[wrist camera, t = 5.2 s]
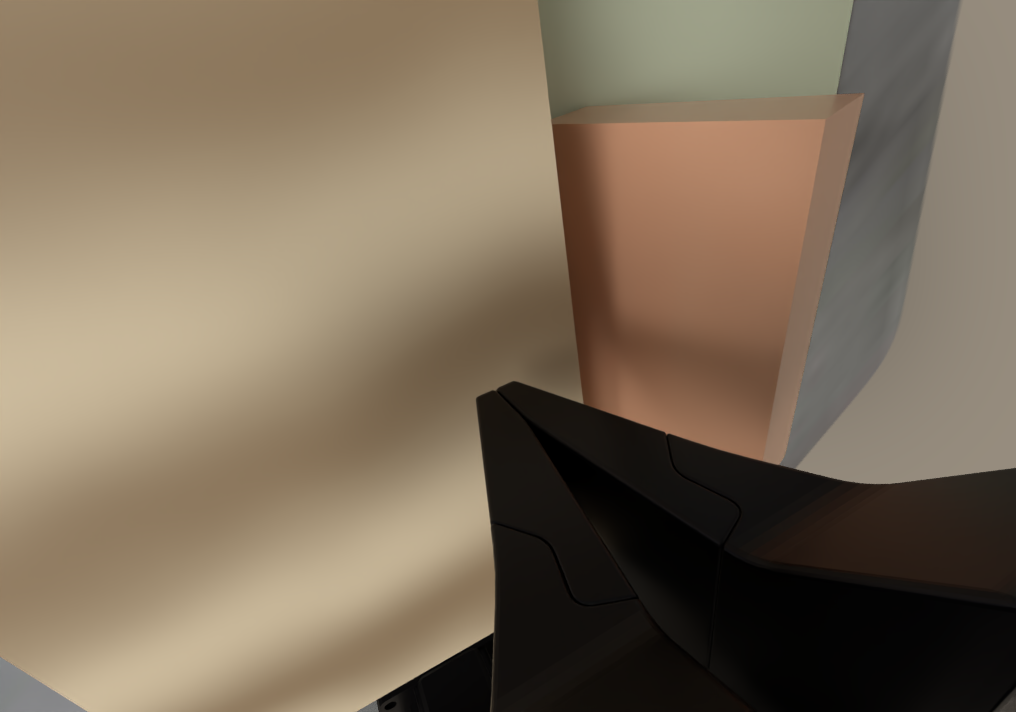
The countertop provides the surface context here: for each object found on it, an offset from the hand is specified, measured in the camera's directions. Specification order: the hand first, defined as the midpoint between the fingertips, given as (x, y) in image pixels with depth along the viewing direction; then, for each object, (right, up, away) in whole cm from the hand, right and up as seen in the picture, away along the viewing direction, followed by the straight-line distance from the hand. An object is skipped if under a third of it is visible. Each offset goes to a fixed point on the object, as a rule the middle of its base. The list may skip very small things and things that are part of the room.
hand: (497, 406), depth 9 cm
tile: (+4, +2, +2) cm, 5 cm away
